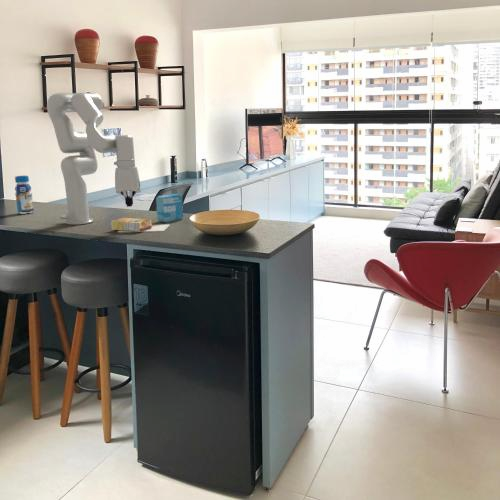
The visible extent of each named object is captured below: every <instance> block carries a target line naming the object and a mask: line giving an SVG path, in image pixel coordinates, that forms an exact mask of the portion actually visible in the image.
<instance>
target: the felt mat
mask: <svg viewBox="0 0 500 500" xmlns="http://www.w3.org/2000/svg"><path fill="white" fill-rule="evenodd" d="M170 226H171V223H170V224H169V223H167V224H152V228H150V229H147V230H144V231H141V232H140V233H149V232H165V230H167V228H168V227H170ZM117 233H138V232H137V231H124V230H117Z"/></svg>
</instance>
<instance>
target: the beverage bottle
mask: <svg viewBox="0 0 500 500" xmlns="http://www.w3.org/2000/svg"><path fill="white" fill-rule="evenodd" d="M14 181H15V183H16V184H15V187H14V190H15V193H14V195H15V202H16V208H17V209H16V210H17V213H18V212H30V211H34V212H35V209H34V201H33V192H32V186H31V185H30V184H29V182H30V179H29V175H17V176H16V175H15V177H14Z"/></svg>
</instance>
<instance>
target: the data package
mask: <svg viewBox="0 0 500 500" xmlns="http://www.w3.org/2000/svg"><path fill="white" fill-rule="evenodd" d="M155 201H156V202H155V203H156V216H157V221H158V222H160V223H161V222H162V223H171V222H175V221H180V220H183V217H184V210H183V209H184V208H183V207H184V206H183V196H182V194H176V193H172V194H165V195H158V196H157V197H156V199H155Z"/></svg>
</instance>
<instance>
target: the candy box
mask: <svg viewBox="0 0 500 500" xmlns="http://www.w3.org/2000/svg"><path fill="white" fill-rule="evenodd" d="M110 223H111V230H112V231H113V230H114V231H119V230H124V231H137V232H136V233H142V232H141V231H144V230H147V229H150V228H152V225H153V224H152V219H150V218H131V217H121V218H118V219H114V220H111V222H110Z"/></svg>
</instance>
